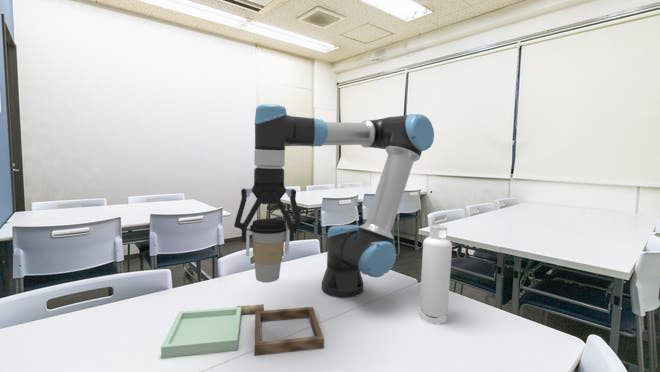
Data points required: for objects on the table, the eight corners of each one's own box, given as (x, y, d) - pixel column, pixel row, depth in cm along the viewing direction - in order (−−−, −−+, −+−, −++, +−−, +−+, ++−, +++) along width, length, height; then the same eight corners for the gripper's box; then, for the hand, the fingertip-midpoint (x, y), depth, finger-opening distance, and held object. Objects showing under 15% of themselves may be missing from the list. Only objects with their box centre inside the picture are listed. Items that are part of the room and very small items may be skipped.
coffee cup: (278, 287, 78) (279, 227, 76) (242, 283, 79) (243, 224, 78) (290, 273, 87) (291, 219, 86) (257, 270, 89) (258, 217, 87)
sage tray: (241, 315, 94) (241, 306, 94) (237, 350, 78) (237, 340, 77) (179, 320, 90) (179, 311, 90) (161, 357, 74) (161, 347, 74)
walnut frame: (312, 314, 96) (312, 306, 95) (323, 348, 79) (323, 338, 79) (255, 319, 92) (255, 311, 92) (254, 355, 76) (254, 345, 75)
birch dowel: (263, 302, 97) (263, 309, 95) (263, 307, 98) (263, 314, 96) (236, 304, 95) (235, 311, 93) (236, 309, 97) (236, 316, 95)
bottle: (436, 309, 101) (441, 222, 98) (453, 322, 93) (459, 228, 91) (413, 312, 99) (418, 223, 96) (429, 325, 91) (435, 229, 88)
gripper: (309, 168, 87) (307, 248, 89) (225, 165, 82) (224, 250, 84) (314, 169, 80) (311, 256, 82) (222, 166, 74) (221, 259, 76)
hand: (267, 253), depth 83 cm, fingers closed on coffee cup, 9 cm apart
